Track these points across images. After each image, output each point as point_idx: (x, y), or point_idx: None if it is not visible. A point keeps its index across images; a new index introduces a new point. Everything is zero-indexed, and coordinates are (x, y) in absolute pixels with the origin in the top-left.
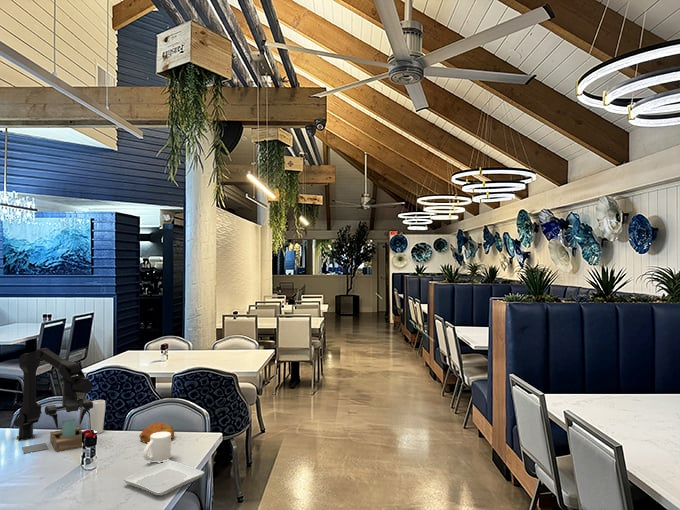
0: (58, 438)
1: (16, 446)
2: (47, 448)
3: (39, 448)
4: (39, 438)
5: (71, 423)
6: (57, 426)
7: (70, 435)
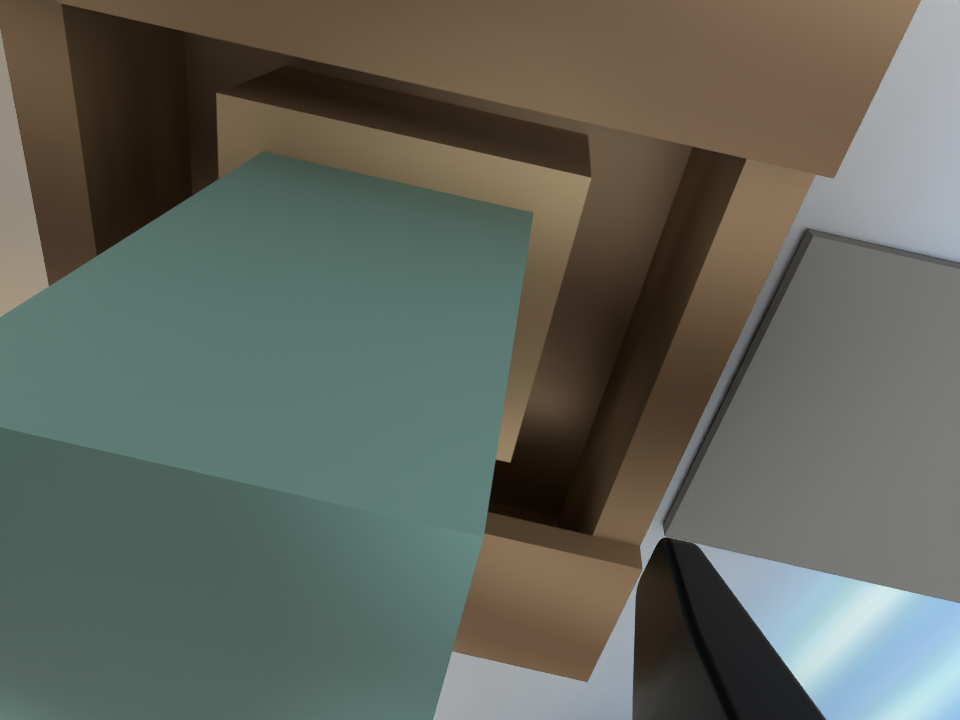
0: (736, 154)
1: (955, 680)
2: (829, 250)
3: (904, 364)
4: (603, 712)
5: (153, 390)
6: (696, 585)
7: (361, 192)
